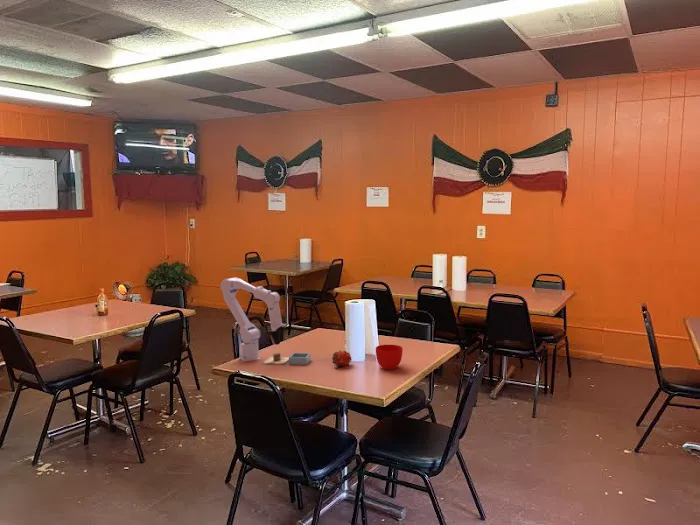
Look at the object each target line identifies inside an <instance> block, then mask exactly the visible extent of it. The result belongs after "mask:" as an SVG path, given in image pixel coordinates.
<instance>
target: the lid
mask: <svg viewBox="0 0 700 525" xmlns="http://www.w3.org/2000/svg"><path fill="white" fill-rule="evenodd" d="M289 357H290V356H289ZM289 357H285V356H283V357H282V356H281V353H280V352H277V353H276V352H275V353H273V354H272V356H269V357H268V358H266V359H267V360H266V359H265V360H264V361H263V362H262V363H263V364H277V365H276V366H286V365H285V364H286V363H287V362H288V361H289Z"/></svg>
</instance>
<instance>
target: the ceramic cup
mask: <svg viewBox="0 0 700 525" xmlns="http://www.w3.org/2000/svg"><path fill="white" fill-rule="evenodd" d="M375 356H376V361H377V362H378V365H379V366H380V368H382V369H383V370H385V369H386V371H393V370H396V369H397V367H398V366H399V365H400V363H401V361H402V358H403V346H401V345H398V344H380V345H377V346H375ZM395 368H396V369H395ZM392 369H393V370H392Z"/></svg>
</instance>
